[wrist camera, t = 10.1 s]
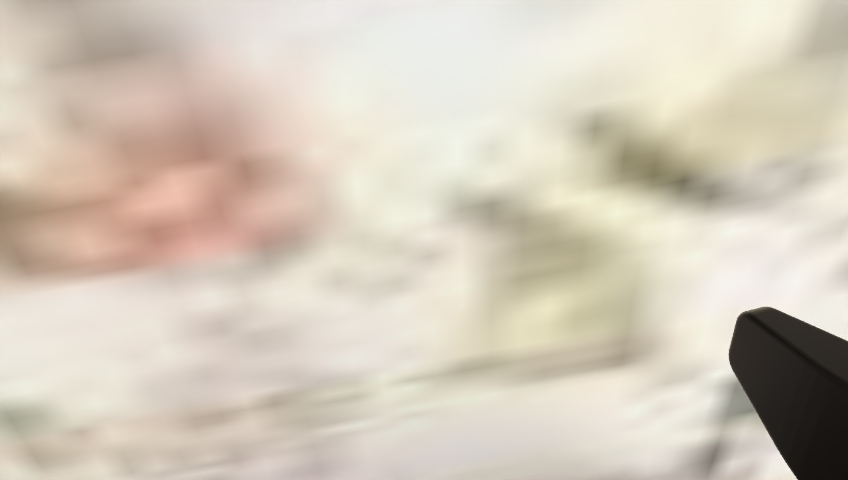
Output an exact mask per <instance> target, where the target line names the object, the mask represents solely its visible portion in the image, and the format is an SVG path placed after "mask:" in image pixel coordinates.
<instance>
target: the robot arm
mask: <svg viewBox="0 0 848 480" xmlns="http://www.w3.org/2000/svg"><path fill="white" fill-rule="evenodd" d="M729 361H730V365H731V367H732V370H733V372H734V373H735V375H736V377H737V379H738V380H739V382H740V384H741V386H742V387H743V389H744V391H745V393H746V394H747V396H748V398H749V400H750V401H751V403H752V405H753V407H754V409H755V410H756V412H757V414H758V416H759V417H760V419H761V421H762V423H763V424H764V426H765V428H766V430H767V431H768V433H769V435H770V437H771V438H772V440H773V442H774V444H775V445H776V447H777V449H778V450H779V452H780V454H781V455H782V457H783V459H784V460H785V462H786V463H787V465H788V466H789V468H790V469H791V471H792V472H793V474H794V475H795V476H796V478H797V479H798V480H848V341H846V340H844V339H842V338H840V337H837V336H835V335H833V334H831V333H828V332H826V331H824V330H822V329H819V328H817V327H815V326H813V325H810V324H808V323H806V322H804V321H801V320H799V319H797V318H795V317H792V316H790V315H788V314H786V313H783V312H781V311H779V310H777V309H774V308H771V307H761V308H757V309H753V310H749V311H745V312H743V313H741V314H740V315H739V316H738V318H737V321H736V325H735V329H734V333H733V337H732V341H731V345H730V349H729Z"/></svg>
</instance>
